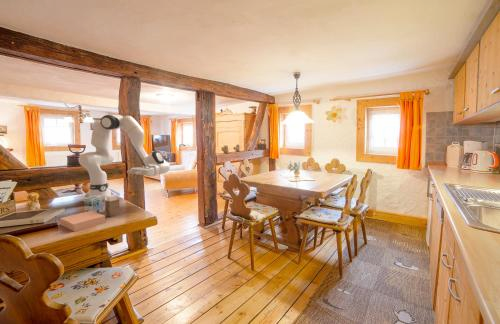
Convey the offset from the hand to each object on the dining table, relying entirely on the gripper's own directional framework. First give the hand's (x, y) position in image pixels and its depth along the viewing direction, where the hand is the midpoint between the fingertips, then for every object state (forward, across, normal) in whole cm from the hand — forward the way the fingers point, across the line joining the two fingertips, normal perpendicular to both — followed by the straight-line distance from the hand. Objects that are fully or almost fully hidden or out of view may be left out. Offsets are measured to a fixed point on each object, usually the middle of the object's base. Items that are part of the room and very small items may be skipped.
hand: (131, 172), depth 163 cm
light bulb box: (+17, -16, +26) cm, 35 cm away
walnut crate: (+14, 0, +26) cm, 30 cm away
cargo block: (+14, 0, +16) cm, 21 cm away
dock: (+31, 0, +26) cm, 40 cm away
